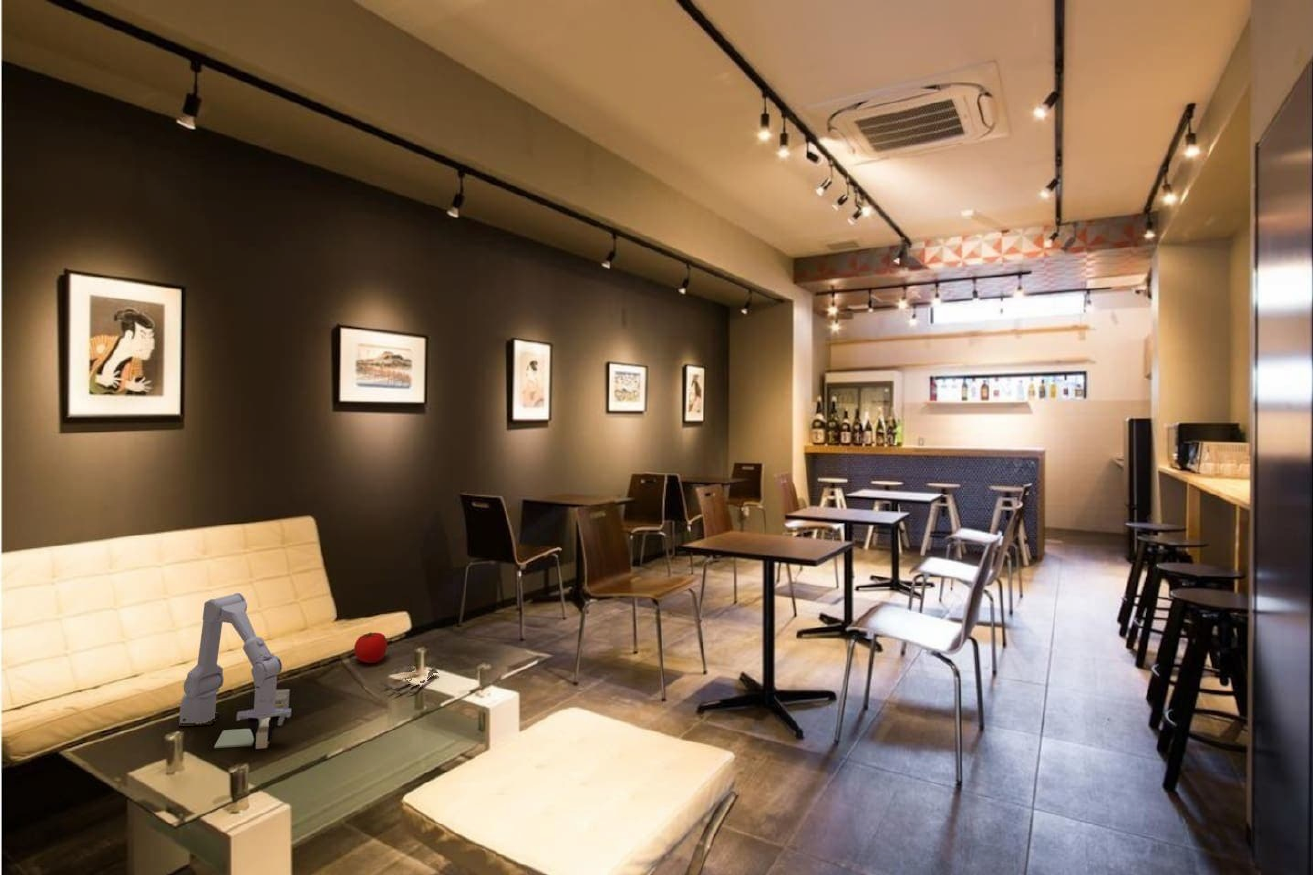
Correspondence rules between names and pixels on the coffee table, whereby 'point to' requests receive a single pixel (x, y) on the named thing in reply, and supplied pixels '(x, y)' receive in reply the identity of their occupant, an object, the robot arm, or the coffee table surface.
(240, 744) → the pad
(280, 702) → the frame
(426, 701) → the coffee table surface
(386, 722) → the coffee table surface
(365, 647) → the tomato
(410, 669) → the skeleton model
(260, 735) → the beige rectangular block
